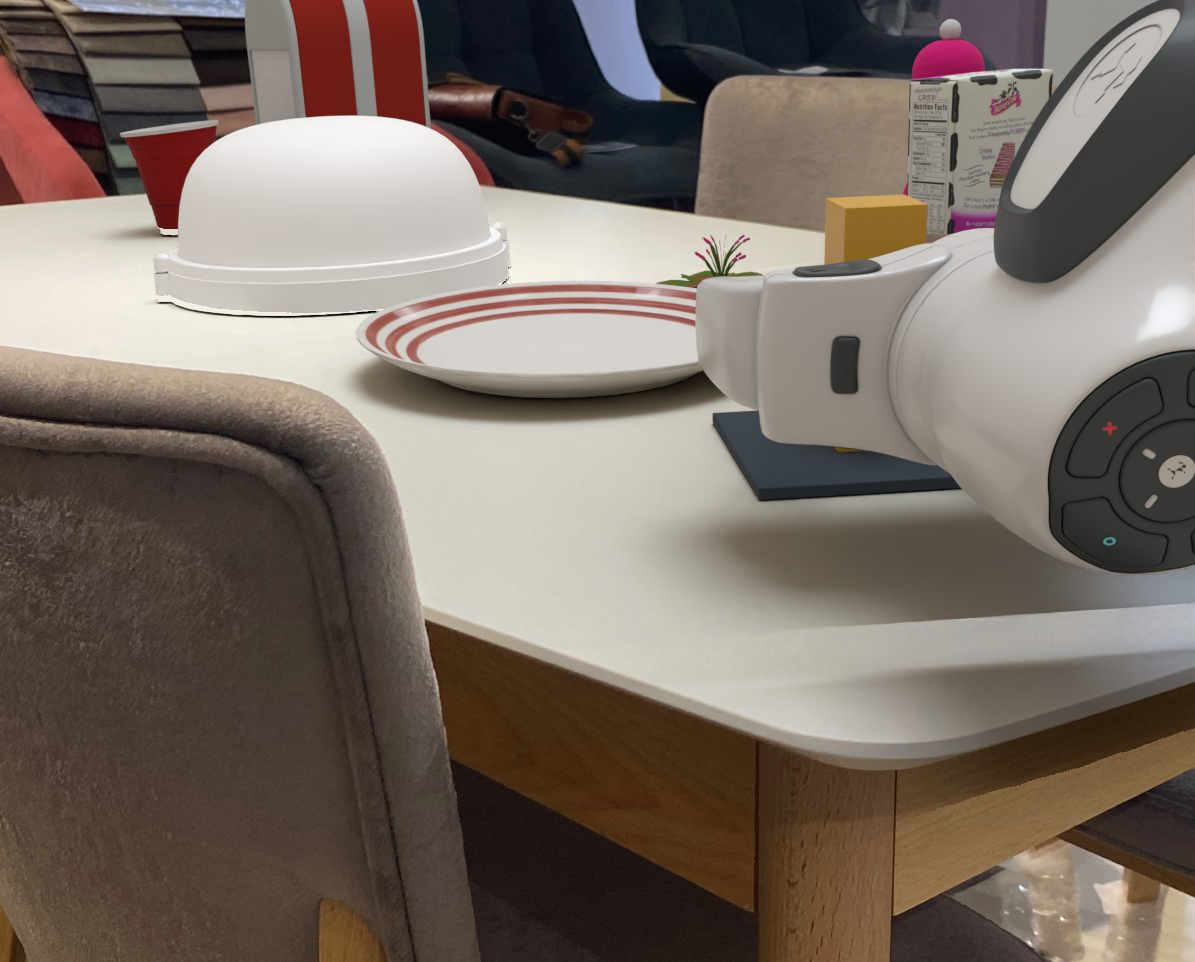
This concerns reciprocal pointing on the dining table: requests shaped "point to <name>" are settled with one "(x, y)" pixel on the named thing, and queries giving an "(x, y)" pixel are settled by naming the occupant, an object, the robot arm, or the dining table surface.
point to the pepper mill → (947, 56)
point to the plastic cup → (168, 162)
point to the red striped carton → (337, 59)
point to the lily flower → (703, 275)
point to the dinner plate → (543, 337)
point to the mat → (818, 465)
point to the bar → (872, 229)
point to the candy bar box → (969, 141)
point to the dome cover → (330, 219)
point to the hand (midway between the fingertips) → (890, 289)
